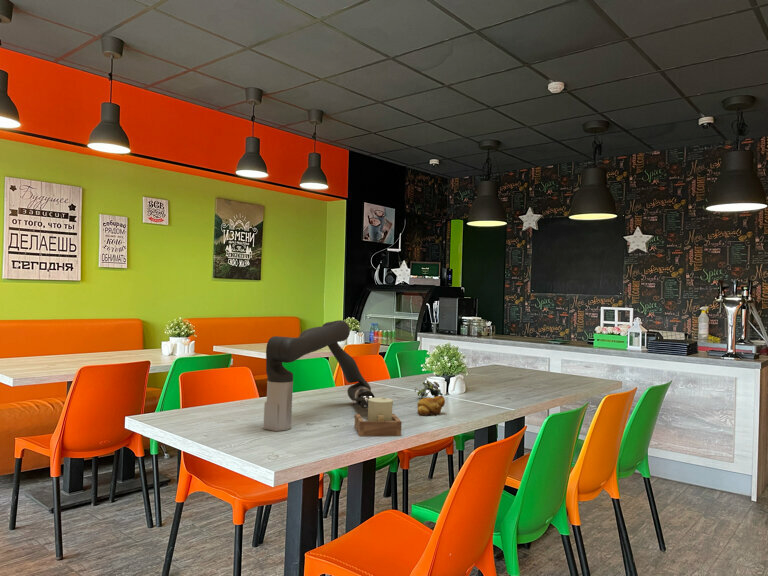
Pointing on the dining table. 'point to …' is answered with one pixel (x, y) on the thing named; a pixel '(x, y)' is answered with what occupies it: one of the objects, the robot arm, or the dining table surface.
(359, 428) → the brown open square box
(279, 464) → the dining table surface
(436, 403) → the bread roll
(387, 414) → the can
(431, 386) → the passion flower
